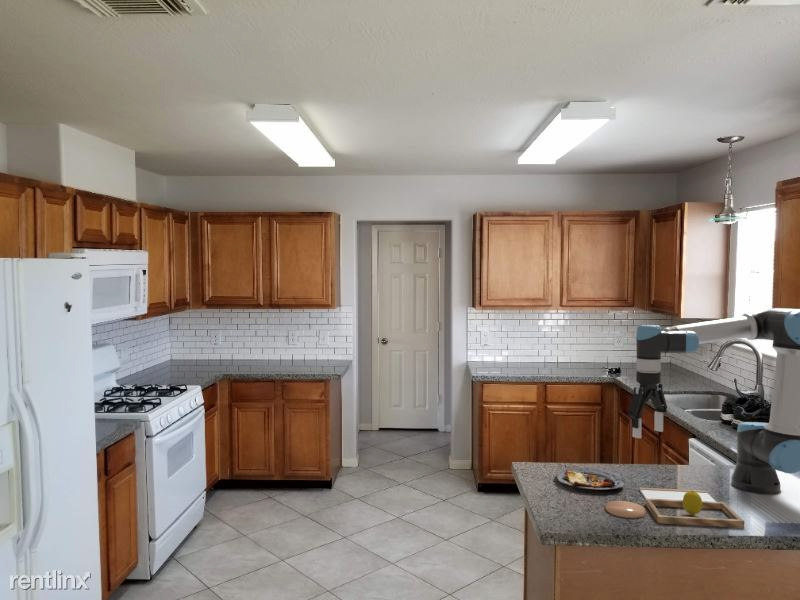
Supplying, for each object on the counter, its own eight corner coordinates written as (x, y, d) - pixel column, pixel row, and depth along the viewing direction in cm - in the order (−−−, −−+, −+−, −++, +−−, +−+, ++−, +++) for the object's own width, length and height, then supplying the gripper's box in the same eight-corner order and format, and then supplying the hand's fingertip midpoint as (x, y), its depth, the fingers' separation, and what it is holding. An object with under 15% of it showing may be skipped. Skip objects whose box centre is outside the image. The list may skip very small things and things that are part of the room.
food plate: (629, 496, 201) (629, 486, 201) (559, 493, 206) (559, 483, 206) (617, 475, 226) (617, 466, 226) (555, 472, 231) (555, 463, 231)
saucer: (640, 504, 194) (640, 501, 194) (649, 519, 182) (649, 516, 182) (602, 502, 196) (602, 499, 196) (609, 517, 184) (609, 513, 184)
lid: (705, 493, 204) (705, 490, 204) (719, 507, 191) (720, 504, 191) (639, 490, 208) (639, 487, 208) (648, 504, 195) (648, 501, 195)
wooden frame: (723, 507, 191) (723, 501, 191) (744, 527, 176) (744, 521, 175) (644, 503, 195) (644, 497, 195) (658, 523, 179) (658, 516, 179)
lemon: (679, 512, 188) (679, 487, 187) (695, 511, 188) (695, 487, 188) (689, 519, 182) (689, 493, 182) (705, 518, 183) (706, 493, 182)
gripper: (657, 366, 206) (657, 426, 207) (617, 373, 191) (616, 438, 192) (678, 368, 200) (677, 430, 201) (638, 376, 185) (638, 442, 186)
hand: (648, 434), depth 197 cm, fingers open, 13 cm apart
